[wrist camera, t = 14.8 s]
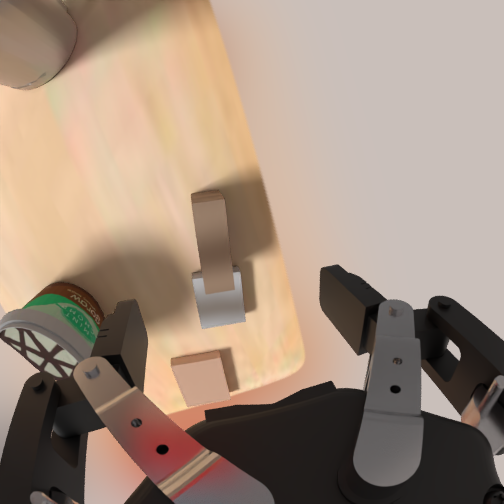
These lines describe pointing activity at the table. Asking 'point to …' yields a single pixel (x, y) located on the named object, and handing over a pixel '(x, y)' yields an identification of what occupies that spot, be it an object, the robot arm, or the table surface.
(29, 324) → the food container
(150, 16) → the table surface
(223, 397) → the tile
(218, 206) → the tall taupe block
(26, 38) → the robot arm
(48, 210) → the table surface
